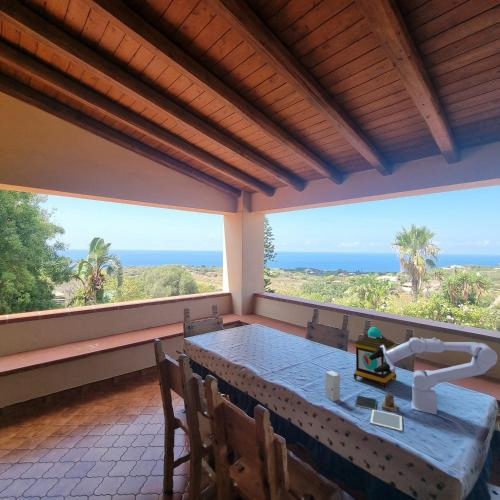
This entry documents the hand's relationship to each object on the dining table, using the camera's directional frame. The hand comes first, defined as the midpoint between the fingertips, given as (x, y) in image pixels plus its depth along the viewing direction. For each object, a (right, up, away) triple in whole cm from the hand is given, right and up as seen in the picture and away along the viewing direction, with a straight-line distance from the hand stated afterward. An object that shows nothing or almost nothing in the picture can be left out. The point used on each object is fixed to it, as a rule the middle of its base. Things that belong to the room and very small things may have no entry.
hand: (372, 364), depth 138 cm
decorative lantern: (+11, -17, +20) cm, 29 cm away
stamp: (+4, -16, -10) cm, 19 cm away
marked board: (-3, -15, -20) cm, 25 cm away
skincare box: (-20, -16, -1) cm, 26 cm away
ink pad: (-6, -16, -6) cm, 18 cm away
